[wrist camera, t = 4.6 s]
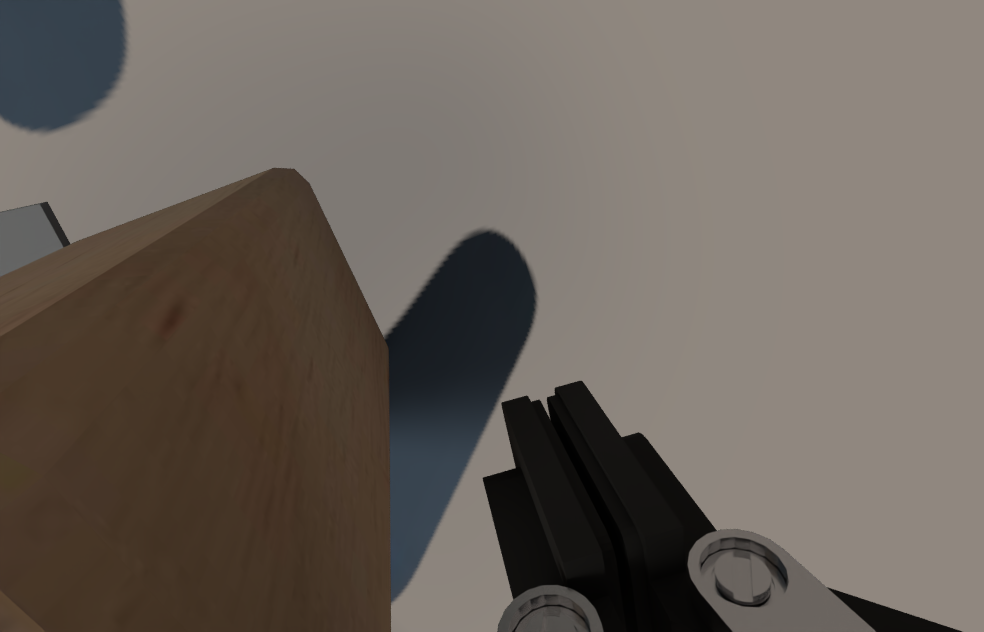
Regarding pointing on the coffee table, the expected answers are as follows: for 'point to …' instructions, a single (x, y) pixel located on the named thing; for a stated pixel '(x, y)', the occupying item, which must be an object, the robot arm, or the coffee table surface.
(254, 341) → the block
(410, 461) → the coffee table surface
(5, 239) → the rubber mat
